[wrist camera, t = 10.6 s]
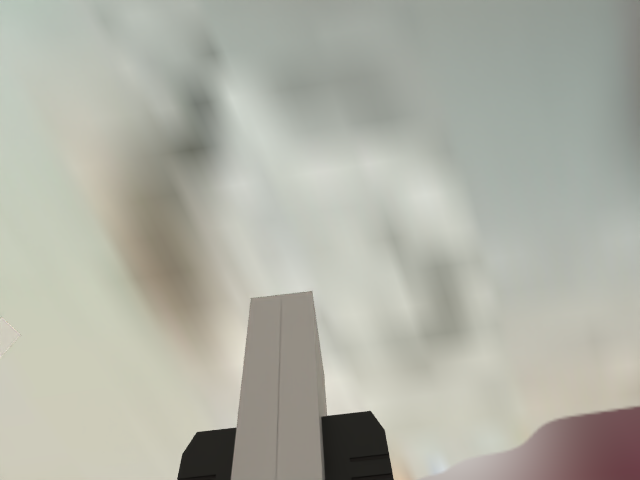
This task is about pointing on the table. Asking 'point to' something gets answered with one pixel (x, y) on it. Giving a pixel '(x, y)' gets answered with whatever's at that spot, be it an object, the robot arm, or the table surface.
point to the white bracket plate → (6, 336)
